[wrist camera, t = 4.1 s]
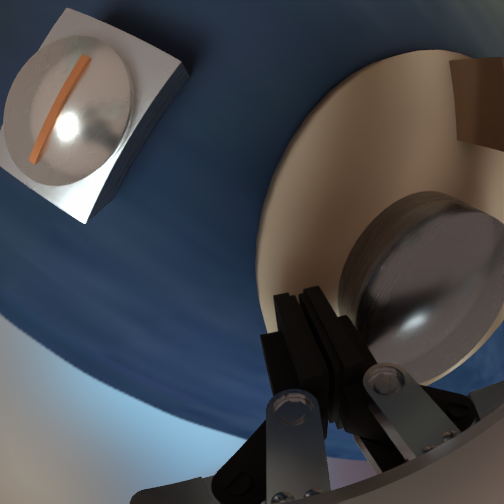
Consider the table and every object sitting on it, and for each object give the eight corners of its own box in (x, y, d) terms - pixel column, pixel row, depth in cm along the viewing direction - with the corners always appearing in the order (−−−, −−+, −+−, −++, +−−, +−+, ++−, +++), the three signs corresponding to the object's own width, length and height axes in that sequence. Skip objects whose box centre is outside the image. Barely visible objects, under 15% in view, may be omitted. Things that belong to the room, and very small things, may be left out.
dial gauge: (96, 28, 8) (56, 1, 5) (189, 76, 10) (178, 55, 6) (30, 148, 10) (-23, 163, 6) (112, 200, 11) (75, 232, 8)
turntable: (531, 85, 9) (581, 94, 5) (497, 331, 18) (526, 361, 14) (215, 52, 9) (215, 6, 5) (279, 415, 17) (292, 472, 13)
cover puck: (482, 185, 10) (528, 206, 8) (455, 320, 14) (484, 352, 11) (336, 201, 10) (378, 233, 7) (334, 362, 13) (355, 408, 11)
